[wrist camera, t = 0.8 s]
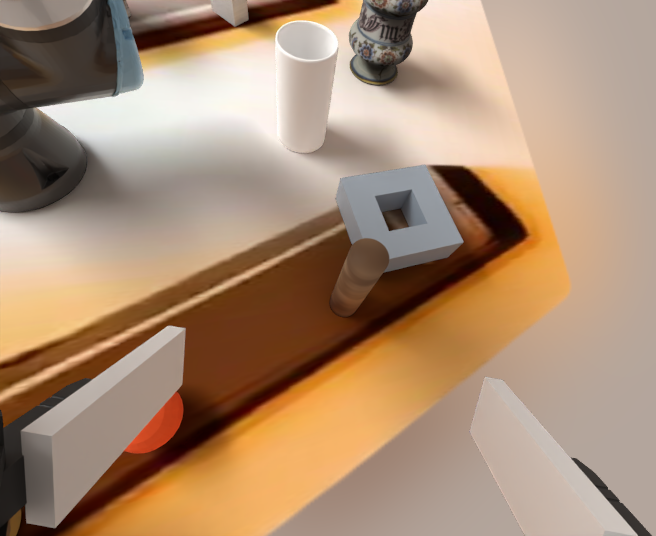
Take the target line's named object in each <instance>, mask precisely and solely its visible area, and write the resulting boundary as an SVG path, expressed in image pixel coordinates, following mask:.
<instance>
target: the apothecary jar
mask: <svg viewBox="0 0 656 536" xmlns="http://www.w3.org/2000/svg"><path fill="white" fill-rule="evenodd" d="M427 2H428V0H363V4H362V9H361V13H360V17H359V18H358V19H357V20H356V21H355V22H354V23H353V25H352V27H351V29H350V32H349V42H350V45H351V47H352V49H353V51H354V52H355V53H356V55H355V56H354V57H353V58H352V59H351V61H350V69H351V71H352V73H353V74H354V75H355V76H356V77H357V78H358V79H360V80H361V81H363V82H365V83H368V84H373V85H385V84H388V83H390V82H392V81H393V80H394V79H395V78H396V77H397V73H398V72H397V67H396V65H397V64H399V63H401V62H403V61H404V60H405V59H406V58H407V57H408V56H409V54H410V52H411V50H412V45H413V41H412V36H411V33H410V32H411V29H412V25H413V22H414V19H415V16H416V13H417V12H418V11H420V10H421V9H422V8H423V7H424V6H425V5H426V4H427Z"/></svg>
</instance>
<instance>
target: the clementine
mask: <svg viewBox="0 0 656 536" xmlns="http://www.w3.org/2000/svg"><path fill="white" fill-rule="evenodd" d="M183 410H184V409H183V402H182V399H181V397H180V395H179V393H178V392H177V391H176V392H175V393H174V394H173V396H172V397H171V398H170V399H169V400H168V401H167V402H166V403H165V405H164V406H163V407H162V408H161V409H160V410H159V411H158V413H157V414H156V415H155V416H154V417H153V418H152V419H151V420H150V422H149V423H148V424H147V425H146V426H145V427H144V428H143V430H142V431H141V432H140V433H139V434H138V435H137V436H136V437H135V439H134V440H133V441H132V442H131V443H130V444H129V445H128V446H127V448H126V449H125V450H124V451H126V452H130V453H136V454H137V453H147V452H150V451H153V450H156V449H157V448H159V447H161V446H162V445H164V444H165V443H167V442H168V441H169V440H170V439H171V438H172V437H173V436H174V434H175V433H176V431H177V430H178V428H179V426H180V424H181V421H182V418H183Z"/></svg>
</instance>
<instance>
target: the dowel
mask: <svg viewBox="0 0 656 536" xmlns="http://www.w3.org/2000/svg"><path fill="white" fill-rule="evenodd" d="M388 264H389V253H388V251H387V249H386V247H385V246H384V245H383V244H382V243H380V242H379V241H377V240H375V239H371V238H363V239H360V240H358V241H356V242H355V243H354V244H353V245H352V246H351V248H350V250H349V253H348V255H347V258H346V260H345V263H344V265H343V268H342V270H341V273H340V275H339V278H338V280H337V283H336V285H335V287H334V290H333V292H332V295H331V297H330V308H331V310H332V311H333V312H334V313H335V314H336V315H338V316H341V317H348V316H351V315H353V314H354V313H355V312H356V310H357V309H358V307H359V306H360V305H361V303H362V302H363V300H364V299H365V297H366V296H367V295H368V293H369V292H370V290H371V289H372V288H373V286H374V285H375V283H376V282H377V281H378V279H379V278H380V276H381V275H382V274H383V272H384V271H385V269H386V268H387V266H388Z"/></svg>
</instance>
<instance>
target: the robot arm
mask: <svg viewBox="0 0 656 536" xmlns="http://www.w3.org/2000/svg"><path fill="white" fill-rule="evenodd" d="M143 80H144V75H143V69H142V65H141V61H140V57H139V53H138V50H137V46H136V43H135V39H134V36H133V34H132V30H131V26H130V23H129V19H128V15H127V12H126V9H125V6H124V2H123V0H0V211H6V212H22V211H29V210H34V209H38V208H41V207H44V206H47V205H49V204H51V203H54V202H55V201H57V200H59V199H61V198H62V197H64V196H65V195H67V194H68V193H69V192H70V191H72V190H73V189H74V188H75V187H76V185H77V184H78V183H79V182H80V180H81V179H82V177H83V175H84V173H85V170H86V165H87V158H86V154H85V151H84V149H83V147H82V146H81V144H80V143H79V142H78V141H77V139H76V138H75V137H74V135H73V134H72V133H71V132H70V131H69V130H67V129H66V128H65V127H63V126H61V125H60V124H58V123H57V122H56V121H54V120H53V119H51V118H50V117H49V116H47V115H46V114H44V113H43V112H42V111H40V110H39V109H37V108H36V107H42V106H49V105H56V104H63V103H70V102H76V101H83V100H90V99H97V98H103V97H110V96H112V97H115V96H117V95H119V94H121V93H125V92H129V91H134V90H137V89H139V88H140V87H141V86H142V84H143ZM185 329H186V328H180V327H174V326H167V327H166V328H164V329H163V330H162V331H160V332H159V333H157V334H156V335H155V336H153V337H152V338H150V339H149V340H148V341H146V342H145V343H143V344H142V345H141V346H139V347H138V348H136V349H135V350H134V351H132V352H131V353H129V354H128V355H126V356H125V357H124V358H122V359H121V360H119V361H118V362H117V363H115V364H114V365H112V366H111V367H110V368H108V369H107V370H105V371H104V372H103V373H101V374H100V375H98V376H97V377H96V378H94V379H87V378H85V379H82V380H80V381H77V382H75V383H72V384H70V385H67V386H66V387H64V388H63V389H61V390H60V391H58V392H57V393H55V394H54V395H52V397H51V398H50V397H49V398H48V399H46V400H45V401H43V402H42V403H40V405H39V406H36V407H34V408H33V409H31V410H30V411H28V412H27V413H25V414H24V415H22V416H21V417H19V418H18V419H16V420H15V421H13V422H12V423H10V424H9V425H7V426H6V427H4V428H3V419H2V413H1V410H0V536H10V531H11V525H10V519H11V518H12V517H13V516H14V515H15V514H16V513H17V512H18V511H19V510H20V509H21V508H22V507H23V506H24V505H25V509H26V523H28V524H34V525H40V526H45V527H51V528H56V527H57V526H58V525H59V523H60V522H61V521H62V520H63V519H64V518H65V517H66V516H67V514H68V513H69V512H70V511H71V510H72V509H73V508H74V506H75V505H76V504H77V503H78V502H79V501H80V500H81V499H82V497H83V496H84V495H85V494H86V493H87V492H88V491H89V490H90V488H91V487H92V486H93V485H94V484H95V483H96V482H97V480H98V479H99V478H100V477H101V476H102V475H103V474H104V473H105V471H106V470H107V469H108V468H109V467H110V466H111V465H112V463H113V462H114V461H115V460H116V459H117V458H118V457H119V456H120V454H121V453H122V452H123V451H124V450H125V449H126V448H127V446H128V445H129V444H130V443H131V442H132V441H133V440H134V439H135V437H136V436H137V435H138V434H139V433H140V432H141V431H142V430H143V428H144V427H145V426H146V425H147V424H148V423H149V422H150V420H151V419H152V418H153V417H154V416H155V415H156V414H157V413H158V411H159V410H160V409H161V408H162V407H163V406H164V405H165V403H166V402H167V401H168V400H169V399H170V398H171V397H172V396H173V394H174V393H175V392H176V391H177V390H178V389H179V388H180V386H181V385H182V381H183V363H184V346H185ZM469 432H470V434H471V436H472V438H473V440H474V442H475V444H476V445H477V447H478V449H479V451H480V453H481V455H482V457H483V459H484V460H485V462H486V464H487V466H488V468H489V470H490V471H491V473H492V476H493V477H494V479H495V481H496V483H497V485H498V487H499V489H500V490H501V492H502V494H503V496H504V498H505V500H506V502H507V504H508V506H509V507H510V509H511V511H512V513H513V515H514V517H515V519H516V521H517V522H518V524H519V526H520V528H521V530H522V532H523V534H524V536H652V535H651V534H650V533H649V532H648V531H647V530H646V529H645V528H644V527H643V525H642V524H641V523H640V522H639V521H638V520H637V519H636V518H635V517H634V516H633V514H632V513H631V512H630V511H629V510H628V509H627V508H626V507H625V506H624V505H623V504H622V503H620V502H619V499H618V498H617V497H616V496H615V495H614V494H613V493H612V492H611V490H608V487H607V486H606V485H605V484H604V483H603V481H602V480H601V479H600V478H599V477H598V476H597V475H596V474H595V473H594V472H593V471H592V470H591V469H589V468H588V467H587V466H585V465H584V464H583V463H581V462H580V461H579V460H577V459H576V458H570V457H569V456H568V455H567V453H566V452H565V451H564V450H563V449H562V448H561V446H560V445H559V444H558V443H557V442H556V441H555V440H554V438H553V437H552V436H551V435H550V434H549V433H548V431H547V430H546V429H545V428H544V427H543V426H542V425H541V423H540V422H539V421H538V420H537V419H536V418H535V417H534V415H533V414H532V413H531V412H530V411H529V410H528V408H527V407H526V406H525V405H524V404H523V403H522V402H521V400H520V399H519V398H518V397H517V396H516V395H515V393H514V392H513V391H512V390H511V389H510V388H509V387H508V385H507V384H506V383H505V382H504V381H503V380H501V379H495V378H489V377H485V378H484V381H483V385H482V388H481V392H480V395H479V399H478V403H477V406H476V410H475V413H474V417H473V421H472V424H471V428H470V431H469Z"/></svg>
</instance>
